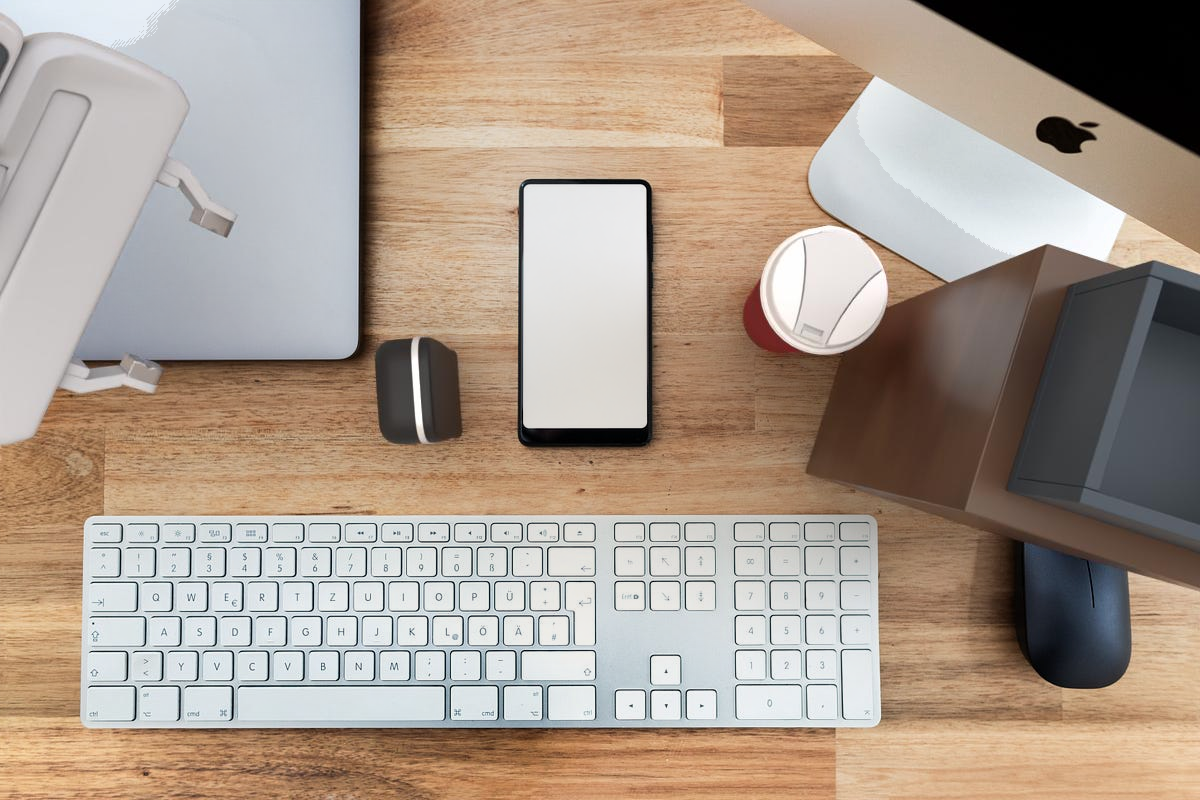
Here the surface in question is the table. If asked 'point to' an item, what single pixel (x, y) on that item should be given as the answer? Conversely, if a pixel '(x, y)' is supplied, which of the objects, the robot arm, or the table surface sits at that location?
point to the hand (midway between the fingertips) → (193, 302)
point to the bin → (1121, 406)
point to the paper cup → (817, 294)
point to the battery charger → (417, 391)
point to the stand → (971, 412)
